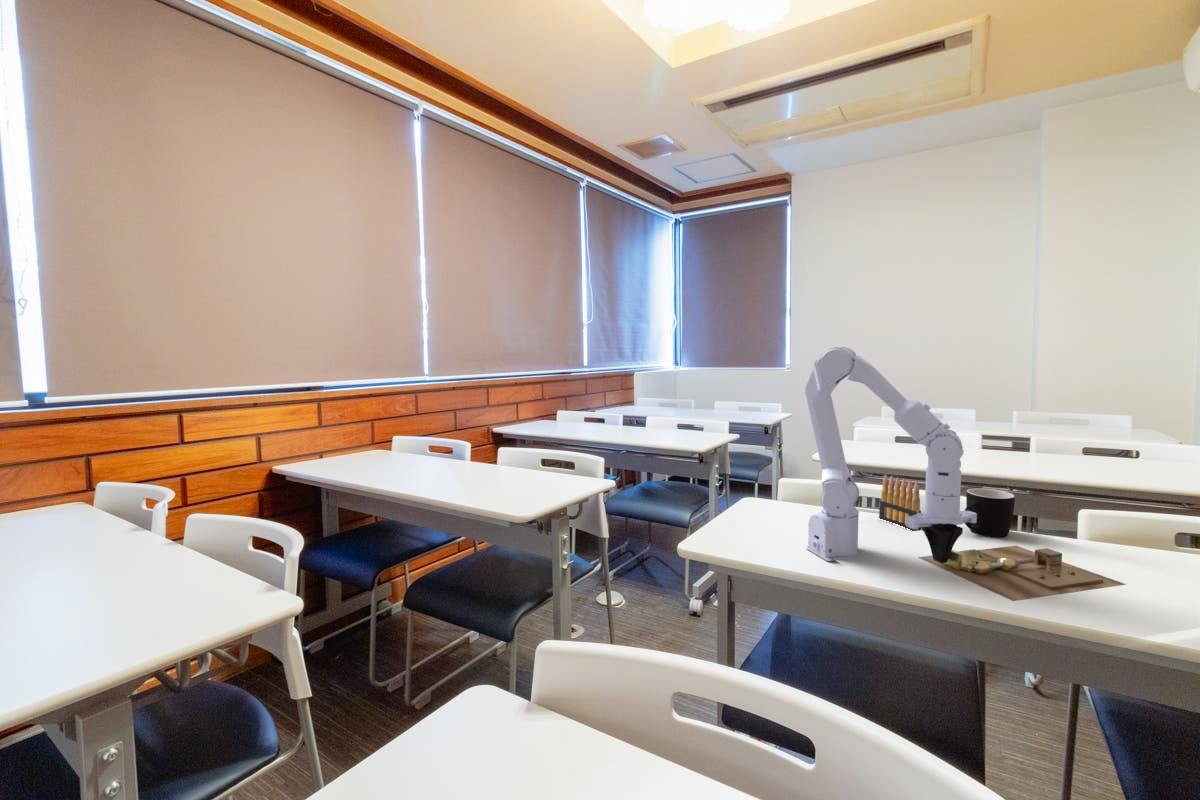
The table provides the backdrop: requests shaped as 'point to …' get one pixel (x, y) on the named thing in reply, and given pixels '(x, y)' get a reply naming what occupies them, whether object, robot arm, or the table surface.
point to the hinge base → (1055, 572)
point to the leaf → (982, 561)
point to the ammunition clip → (899, 501)
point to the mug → (990, 511)
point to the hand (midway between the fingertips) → (940, 560)
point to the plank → (1013, 585)
